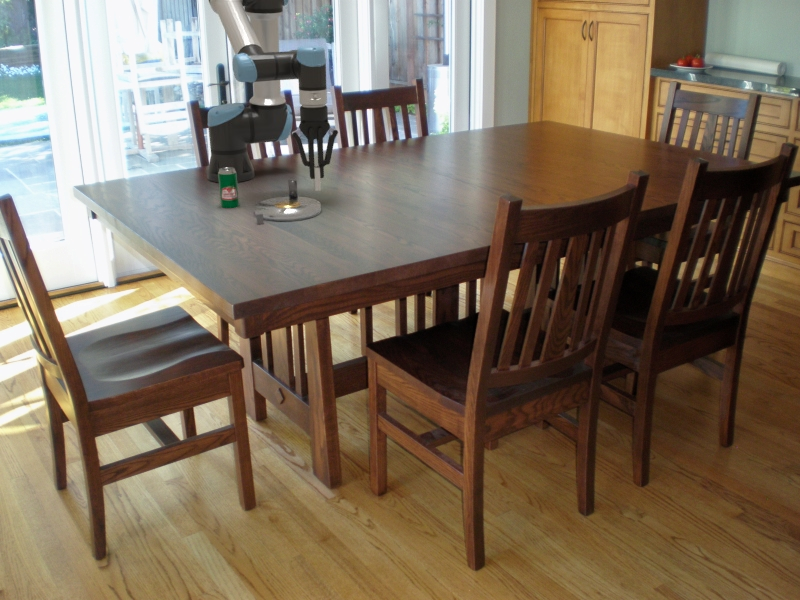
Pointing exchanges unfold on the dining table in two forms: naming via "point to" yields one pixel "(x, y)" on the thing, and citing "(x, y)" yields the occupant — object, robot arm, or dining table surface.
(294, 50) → the robot arm
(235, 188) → the soda can
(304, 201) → the turntable
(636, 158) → the dining table surface
